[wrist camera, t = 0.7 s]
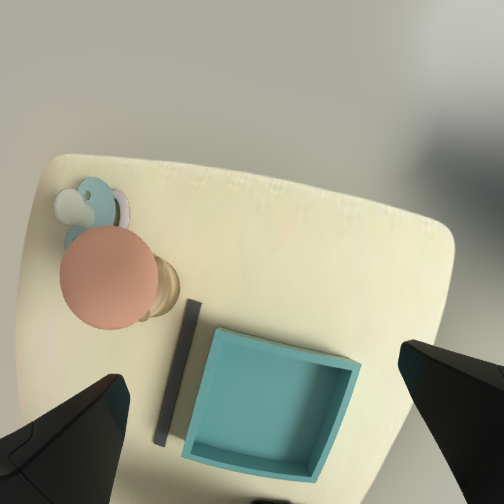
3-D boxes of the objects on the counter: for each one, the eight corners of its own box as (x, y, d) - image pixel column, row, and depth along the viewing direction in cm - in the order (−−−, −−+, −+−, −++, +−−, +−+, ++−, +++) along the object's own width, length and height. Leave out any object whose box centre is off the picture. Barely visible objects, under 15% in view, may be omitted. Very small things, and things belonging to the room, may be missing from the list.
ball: (156, 339, 18) (118, 352, 12) (82, 309, 18) (29, 307, 12) (181, 251, 19) (153, 227, 13) (106, 229, 19) (60, 201, 13)
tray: (308, 466, 21) (315, 482, 18) (187, 441, 21) (181, 456, 18) (348, 357, 22) (361, 364, 20) (219, 326, 23) (215, 329, 20)
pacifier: (139, 188, 25) (87, 185, 25) (115, 158, 19) (56, 158, 19) (123, 266, 24) (70, 257, 24) (90, 254, 18) (32, 244, 17)
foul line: (164, 446, 21) (164, 447, 20) (154, 442, 21) (153, 443, 20) (201, 303, 23) (201, 303, 23) (190, 299, 23) (189, 299, 23)
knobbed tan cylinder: (170, 324, 23) (147, 330, 17) (118, 305, 23) (83, 304, 17) (187, 267, 24) (168, 254, 18) (134, 250, 24) (104, 234, 18)
